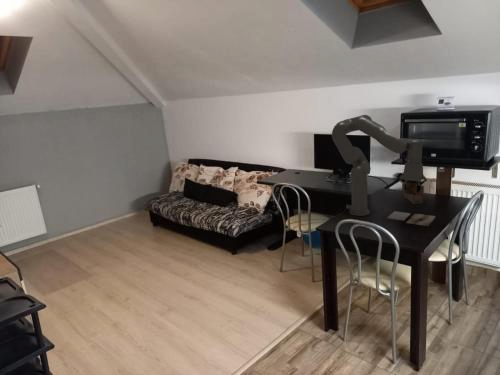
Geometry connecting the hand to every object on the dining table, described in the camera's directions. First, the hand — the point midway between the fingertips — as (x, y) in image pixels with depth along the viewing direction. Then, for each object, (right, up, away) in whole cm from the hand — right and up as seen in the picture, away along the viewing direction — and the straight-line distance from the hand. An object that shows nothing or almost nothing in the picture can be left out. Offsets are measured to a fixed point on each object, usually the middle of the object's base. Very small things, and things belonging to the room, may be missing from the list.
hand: (412, 190), depth 224 cm
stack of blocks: (+16, -6, +39) cm, 42 cm away
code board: (+5, -17, +1) cm, 18 cm away
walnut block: (0, -1, 0) cm, 1 cm away
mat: (-4, -15, +9) cm, 19 cm away
